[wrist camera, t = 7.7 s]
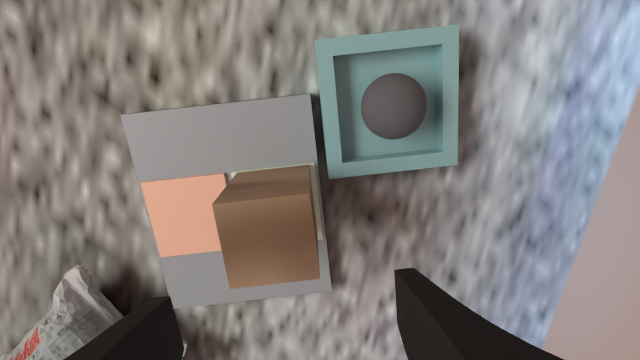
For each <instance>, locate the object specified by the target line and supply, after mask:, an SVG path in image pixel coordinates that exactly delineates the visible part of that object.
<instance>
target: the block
mask: <svg viewBox="0 0 640 360" xmlns="http://www.w3.org/2000/svg"><path fill="white" fill-rule="evenodd" d="M212 207H213V212H214V217H215V222H216V226H217V231H218V236H219V240H220V245H221V250H222V255H223V259H224V264H225V269H226V273H227V278H228V283H229V288H230V289H235V288H244V287H253V286H262V285H271V284H279V283H288V282H297V281H306V280H314V279H320V269H319V253H318V236H317V225H316V217H315V208H314V200H313V192H312V184H311V175H310V167H309V165H300V166H291V167H283V168H274V169H265V170H256V171H247V172H238V173H236V174H235V176H234V177H233V178H232V179H231V181H230V182H229V183H228V185H227V186H226V187H225V188H224V190H223V191H222V192H221V193H220V195H219V196H218V197H217V199H216V200H215V201H214V202H213V204H212Z"/></svg>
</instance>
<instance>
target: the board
mask: <svg viewBox="0 0 640 360" xmlns="http://www.w3.org/2000/svg"><path fill="white" fill-rule="evenodd" d="M121 119H122V123H123V127H124V130H125V134H126V138H127V141H128V145H129V149H130V153H131V156H132V160H133V164H134V167H135V171H136V175H137V179H138V182H139V186H140V190H141V193H142V197H143V201H144V205H145V208H146V212H147V216H148V219H149V223H150V227H151V231H152V234H153V238H154V242H155V245H156V249H157V253H158V256H159V260H160V264H161V268H162V271H163V275H164V279H165V282H166V286H167V290H168V294H169V296H170V297H171V301H172V305H173V308H174V309H176V308H185V307H194V306H203V305H212V304H221V303H230V302H239V301H248V300H257V299H266V298H275V297H284V296H293V295H302V294H311V293H320V292H329V291H332V287H331V278H330V269H329V260H328V251H327V242H326V233H325V224H324V215H323V206H322V197H321V188H320V179H319V170H318V161H317V152H316V142H315V133H314V124H313V115H312V106H311V97H310V94H302V95H293V96H284V97H275V98H266V99H256V100H247V101H238V102H229V103H220V104H211V105H202V106H193V107H184V108H175V109H166V110H157V111H148V112H139V113H129V114H123V115H121ZM300 165H309V167H310V175H311V184H312V192H313V200H314V208H315V217H316V225H317V236H318V253H319V269H320V279H314V280H306V281H297V282H288V283H279V284H271V285H262V286H253V287H244V288H235V289H230V288H229V283H228V278H227V273H226V269H225V264H224V259H223V255H222V250H221V245H220V240H219V236H218V231H217V226H216V222H215V217H214V212H213V207H212V204H213V202H214V201H215V200H216V199H217V197H218V196H219V195H220V193H221V192H222V191H223V190H224V188H225V187H226V186H227V185H228V183H229V182H230V181H231V179H232V178H233V177H234V176H235V174H236V173H238V172H247V171H256V170H265V169H274V168H283V167H291V166H300Z"/></svg>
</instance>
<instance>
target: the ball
mask: <svg viewBox="0 0 640 360" xmlns="http://www.w3.org/2000/svg"><path fill="white" fill-rule="evenodd" d="M426 111H427V98H426V94H425V92H424V90H423V88H422V86H421V85H420V84H419V83H418V82H417V81H416V80H415V79H414V78H412V77H410V76H408V75H405V74H401V73H390V74H386V75H383V76H381V77H378V78H377V79H375V80H374V81H373V82H372V83H371V84H370V85H369V86H368V87H367V89H366V90H365V92H364V94H363V97H362V100H361V115H362V119H363V121H364V123H365V125H366V126H367V128H368V129H369V130H370V131H371V132H372V133H374V134H375V135H377V136H379V137H381V138H384V139H390V140H394V139H401V138H404V137H406V136H409V135H410V134H412V133H413V132H414V131H416V130H417V129H418V128H419V126H420V125H421V124H422V122H423V120H424V118H425V115H426Z"/></svg>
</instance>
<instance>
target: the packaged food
mask: <svg viewBox="0 0 640 360" xmlns="http://www.w3.org/2000/svg"><path fill="white" fill-rule="evenodd" d="M123 317H124V316H123V314H122V313H121V312H120V311H118V310H117V309H116V308H115V307H114V306H113V304H112V303H111V302H110V301H109V300H108V299H107V298H105V296H104V295H103V294H102V293H101V292H100V291H99V289H98V287H97V286H95V285H94V284H93V282H92V276H91V275H89V274H87V269H85V268H84V265H83V264H80V265H77V266H75V267H73V268H71V269H70V270H69V271H68V272H67V273H66V274H65V275H64V277H63V279H62V280H61V282H60V284H59V285H58V287H57V288H56V290H55V292H54V293H53V306H52V307H51V308H50V310H49V311H48V312H47V313H46V314H45V315H44V316H43V317H42V318H41V319H40V320H39V321H38V322H37V323H36V324H35V325H34V327H33V328H31V329H30V330H29V331H28V332H27V334H26V335H25V336H24V338H23V339H22V340H21V341H20V342H19V344H18V345H17V347H16V348H15V349H14V350H12V351H10V352H7V353H6V354H4V355H3V356H2V357H0V360H64V359H65V358H67V357H68V356H70V355H71V354H72V353H74V352H75V351H77V350H78V349H80V348H81V347H83V346H84V345H86V344H87V343H88V342H90V341H91V340H93V339H94V338H95V337H97V336H98V335H99V334H101V333H102V332H104V331H105V330H106V329H108V328H109V327H110V326H112V325H113V324H115V323H116V322H117V321H119V320H120V319H121V318H123ZM182 341H183V345H184V348H185V349H184V352H183V356H184V355H185V351H186V348H187V343H186V340H184V339H182ZM183 356H182V359H183ZM182 359H181V360H182Z"/></svg>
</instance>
